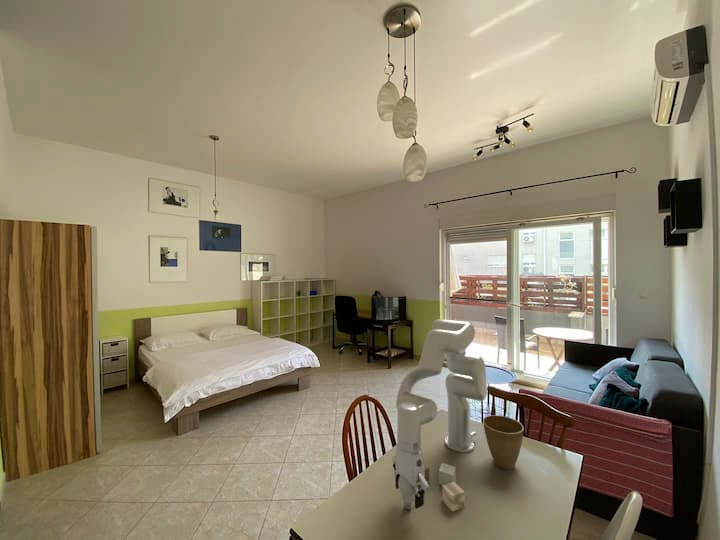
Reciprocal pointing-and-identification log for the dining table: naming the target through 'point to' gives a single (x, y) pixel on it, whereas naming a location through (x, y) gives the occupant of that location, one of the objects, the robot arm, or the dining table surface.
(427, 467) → the walnut cube
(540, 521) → the dining table surface
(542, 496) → the dining table surface
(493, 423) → the plant pot
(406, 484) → the lightbulb
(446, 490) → the beech cube
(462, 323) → the robot arm
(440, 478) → the sage cube
